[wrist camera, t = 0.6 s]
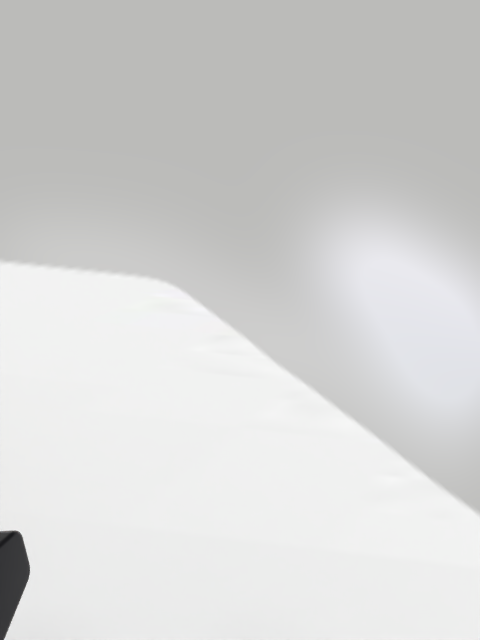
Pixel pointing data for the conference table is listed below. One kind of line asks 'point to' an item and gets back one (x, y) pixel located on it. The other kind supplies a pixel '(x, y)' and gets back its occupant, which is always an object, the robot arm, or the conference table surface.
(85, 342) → the conference table surface
